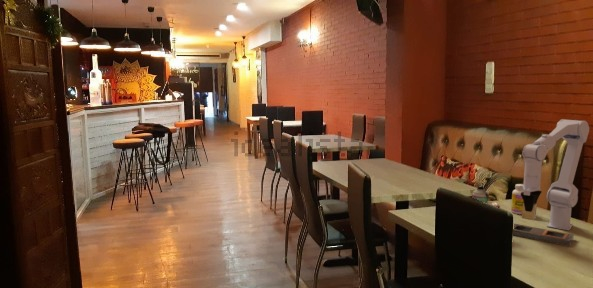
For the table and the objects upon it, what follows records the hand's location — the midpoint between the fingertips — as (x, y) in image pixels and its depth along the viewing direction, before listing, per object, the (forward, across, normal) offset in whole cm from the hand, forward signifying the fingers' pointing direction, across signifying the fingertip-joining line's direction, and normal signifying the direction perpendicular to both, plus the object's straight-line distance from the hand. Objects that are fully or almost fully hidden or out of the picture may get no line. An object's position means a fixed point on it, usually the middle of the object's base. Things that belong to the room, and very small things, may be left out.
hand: (529, 210), depth 175 cm
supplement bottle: (+10, -30, -11) cm, 33 cm away
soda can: (+10, +9, -12) cm, 18 cm away
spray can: (+10, +15, -14) cm, 23 cm away
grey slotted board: (+10, 0, +4) cm, 10 cm away
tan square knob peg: (+3, 0, 0) cm, 3 cm away
